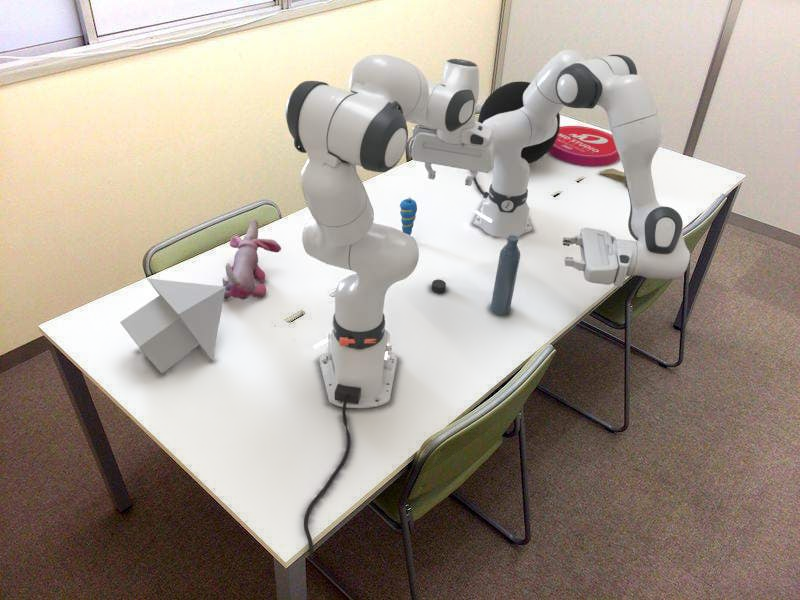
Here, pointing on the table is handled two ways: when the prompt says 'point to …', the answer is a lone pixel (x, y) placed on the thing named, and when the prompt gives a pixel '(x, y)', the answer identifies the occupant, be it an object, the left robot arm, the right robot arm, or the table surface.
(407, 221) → the ornament
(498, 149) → the right robot arm
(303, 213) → the table surface
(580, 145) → the sign
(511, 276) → the bottle
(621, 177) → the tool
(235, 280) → the toy
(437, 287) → the cap
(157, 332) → the pyramid on cube
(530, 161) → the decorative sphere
